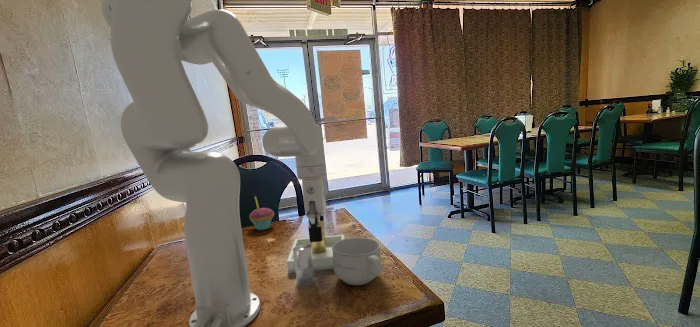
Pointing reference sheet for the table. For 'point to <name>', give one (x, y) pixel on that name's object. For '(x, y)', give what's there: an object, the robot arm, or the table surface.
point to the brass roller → (319, 246)
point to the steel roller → (303, 265)
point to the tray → (319, 260)
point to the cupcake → (261, 217)
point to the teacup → (357, 260)
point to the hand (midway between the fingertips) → (317, 234)
